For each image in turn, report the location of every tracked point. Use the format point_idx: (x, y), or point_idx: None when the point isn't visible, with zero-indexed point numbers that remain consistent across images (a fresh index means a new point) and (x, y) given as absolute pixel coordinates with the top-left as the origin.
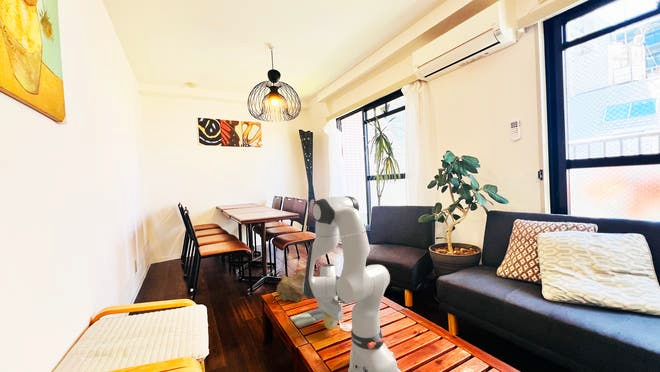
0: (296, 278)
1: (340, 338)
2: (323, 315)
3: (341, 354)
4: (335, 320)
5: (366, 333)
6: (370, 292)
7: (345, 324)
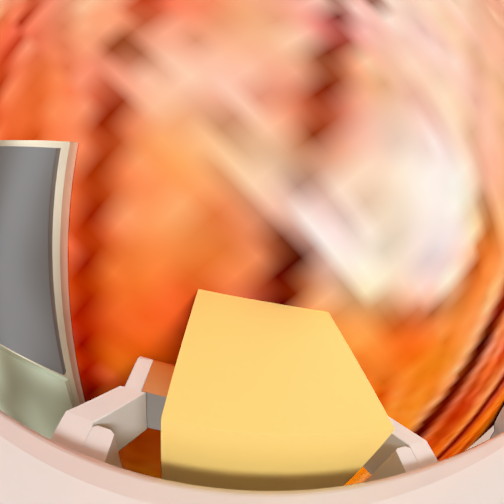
0: None
1: (435, 390)
2: (19, 268)
3: (464, 430)
4: (392, 437)
5: None
6: None
7: (381, 201)
